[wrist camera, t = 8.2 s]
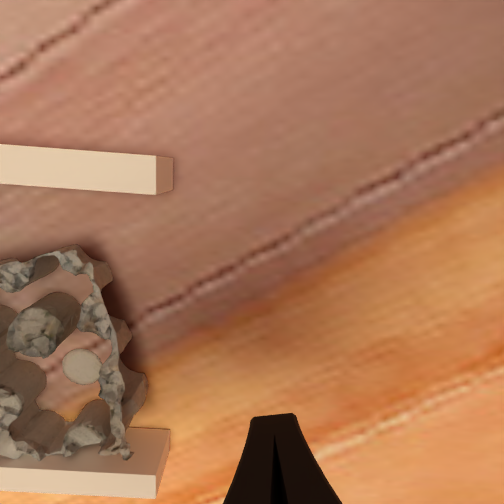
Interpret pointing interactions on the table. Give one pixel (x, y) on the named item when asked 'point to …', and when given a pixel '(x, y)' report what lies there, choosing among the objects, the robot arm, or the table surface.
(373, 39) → the table surface
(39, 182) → the display bay
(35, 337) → the egg carton
